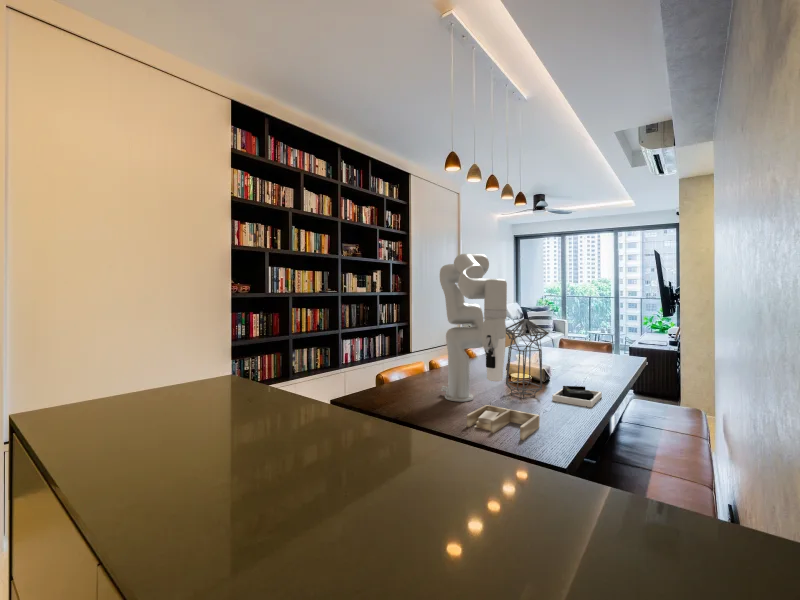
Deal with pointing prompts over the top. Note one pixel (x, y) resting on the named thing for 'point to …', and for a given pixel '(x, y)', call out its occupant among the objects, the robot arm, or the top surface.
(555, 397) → the charger tray
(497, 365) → the white vase
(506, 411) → the rack
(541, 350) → the geometric lantern
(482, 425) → the board
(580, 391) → the battery charger
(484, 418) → the offcut top
